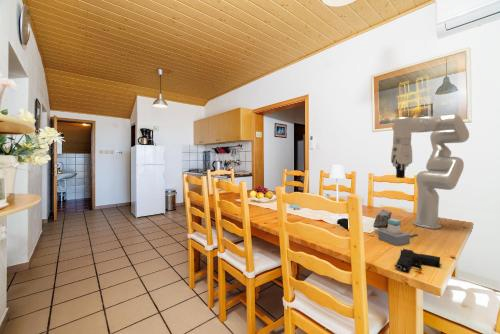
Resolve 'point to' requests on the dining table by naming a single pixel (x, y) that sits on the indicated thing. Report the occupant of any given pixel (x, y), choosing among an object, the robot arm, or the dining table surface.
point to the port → (394, 237)
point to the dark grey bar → (413, 235)
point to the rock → (382, 218)
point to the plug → (394, 226)
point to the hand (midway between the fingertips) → (400, 177)
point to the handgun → (415, 260)
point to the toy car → (343, 222)
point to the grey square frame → (378, 230)
